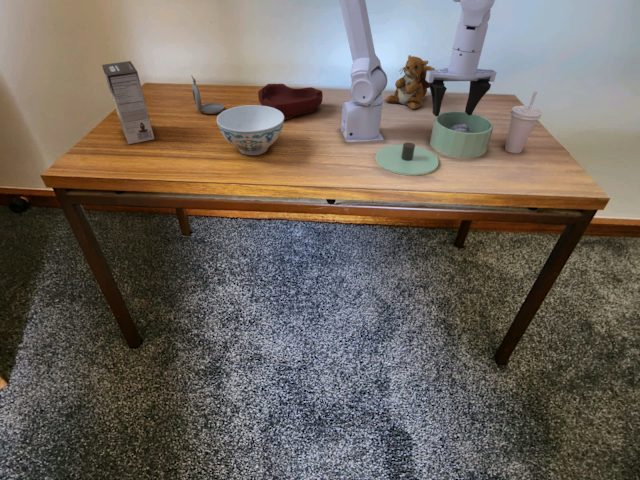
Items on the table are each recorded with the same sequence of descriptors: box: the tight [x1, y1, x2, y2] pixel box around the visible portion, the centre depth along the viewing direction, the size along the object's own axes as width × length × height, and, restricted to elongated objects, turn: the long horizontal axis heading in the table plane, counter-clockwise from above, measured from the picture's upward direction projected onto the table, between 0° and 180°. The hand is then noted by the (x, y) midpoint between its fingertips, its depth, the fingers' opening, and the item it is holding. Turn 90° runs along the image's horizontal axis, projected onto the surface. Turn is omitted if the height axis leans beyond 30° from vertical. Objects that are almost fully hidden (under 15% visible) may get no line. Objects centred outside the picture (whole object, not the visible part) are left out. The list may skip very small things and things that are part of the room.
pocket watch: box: [191, 75, 225, 115], centre depth 108 cm, size 8×8×10 cm
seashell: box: [450, 124, 469, 133], centre depth 95 cm, size 5×5×10 cm
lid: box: [375, 142, 440, 177], centre depth 89 cm, size 14×14×4 cm
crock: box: [429, 110, 494, 159], centre depth 95 cm, size 13×13×6 cm
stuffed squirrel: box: [385, 54, 436, 111], centre depth 116 cm, size 10×14×13 cm
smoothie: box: [504, 91, 542, 154], centre depth 92 cm, size 6×6×14 cm
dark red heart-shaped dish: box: [257, 83, 323, 121], centre depth 110 cm, size 18×16×5 cm
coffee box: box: [101, 60, 156, 145], centre depth 94 cm, size 9×6×16 cm
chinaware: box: [216, 104, 285, 156], centre depth 91 cm, size 15×15×8 cm
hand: (451, 114), depth 89 cm, fingers open, 7 cm apart
